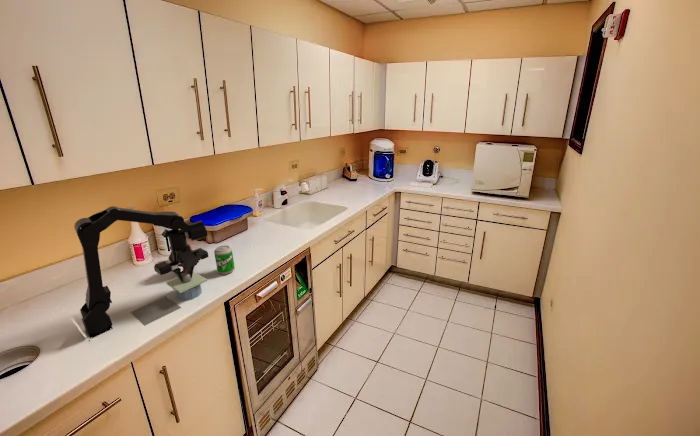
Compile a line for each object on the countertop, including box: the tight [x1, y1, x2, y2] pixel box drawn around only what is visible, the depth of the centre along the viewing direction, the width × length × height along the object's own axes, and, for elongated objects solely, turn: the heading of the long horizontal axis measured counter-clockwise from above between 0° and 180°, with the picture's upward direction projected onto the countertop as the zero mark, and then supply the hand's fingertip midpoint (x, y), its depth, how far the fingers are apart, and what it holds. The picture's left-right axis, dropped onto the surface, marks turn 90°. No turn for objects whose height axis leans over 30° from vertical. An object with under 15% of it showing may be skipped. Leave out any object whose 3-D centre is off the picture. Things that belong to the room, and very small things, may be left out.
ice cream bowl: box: [167, 243, 194, 274], centre depth 146 cm, size 11×11×15 cm
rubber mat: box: [129, 295, 182, 326], centre depth 122 cm, size 13×13×1 cm
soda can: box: [213, 244, 235, 276], centre depth 147 cm, size 8×8×12 cm
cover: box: [166, 270, 208, 293], centre depth 129 cm, size 11×11×4 cm
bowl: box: [174, 284, 202, 302], centre depth 131 cm, size 9×9×5 cm
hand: (186, 279), depth 129 cm, fingers closed on cover, 3 cm apart
